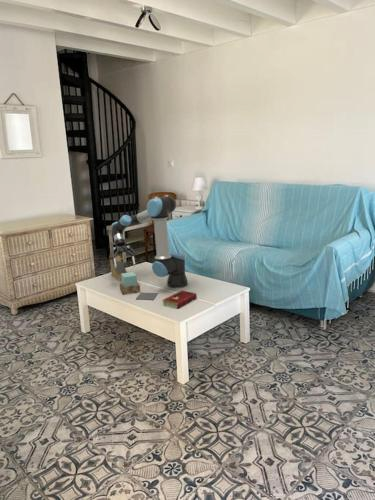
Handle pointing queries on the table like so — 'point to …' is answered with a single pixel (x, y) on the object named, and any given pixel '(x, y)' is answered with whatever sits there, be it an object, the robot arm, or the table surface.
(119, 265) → the sandwich container
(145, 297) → the mat
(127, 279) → the mint green cube
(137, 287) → the walnut box
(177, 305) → the hardcover book
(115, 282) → the table surface
